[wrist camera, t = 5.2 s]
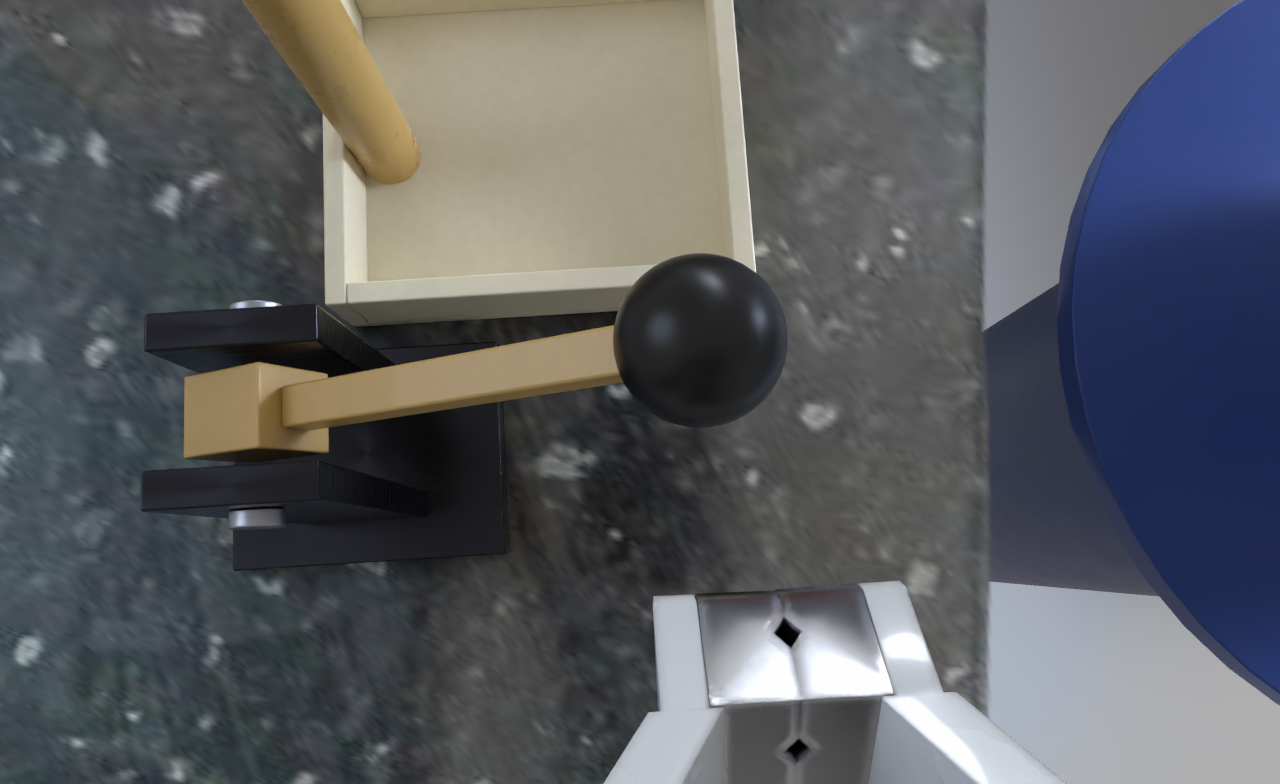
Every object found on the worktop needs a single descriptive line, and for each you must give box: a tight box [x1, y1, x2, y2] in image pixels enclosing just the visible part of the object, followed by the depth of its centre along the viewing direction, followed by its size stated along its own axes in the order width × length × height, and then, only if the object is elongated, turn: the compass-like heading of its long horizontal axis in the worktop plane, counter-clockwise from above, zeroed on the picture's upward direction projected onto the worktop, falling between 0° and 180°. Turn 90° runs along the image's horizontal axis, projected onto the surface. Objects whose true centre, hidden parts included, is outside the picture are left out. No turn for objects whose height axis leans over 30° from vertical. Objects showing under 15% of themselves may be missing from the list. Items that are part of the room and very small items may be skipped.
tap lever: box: [184, 253, 787, 463], centre depth 23 cm, size 16×4×4 cm, turn 93°
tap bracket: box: [141, 300, 509, 571], centre depth 31 cm, size 10×8×14 cm
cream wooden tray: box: [323, 0, 756, 327], centre depth 38 cm, size 16×14×4 cm
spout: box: [241, 0, 421, 184], centre depth 31 cm, size 8×2×18 cm, turn 94°
